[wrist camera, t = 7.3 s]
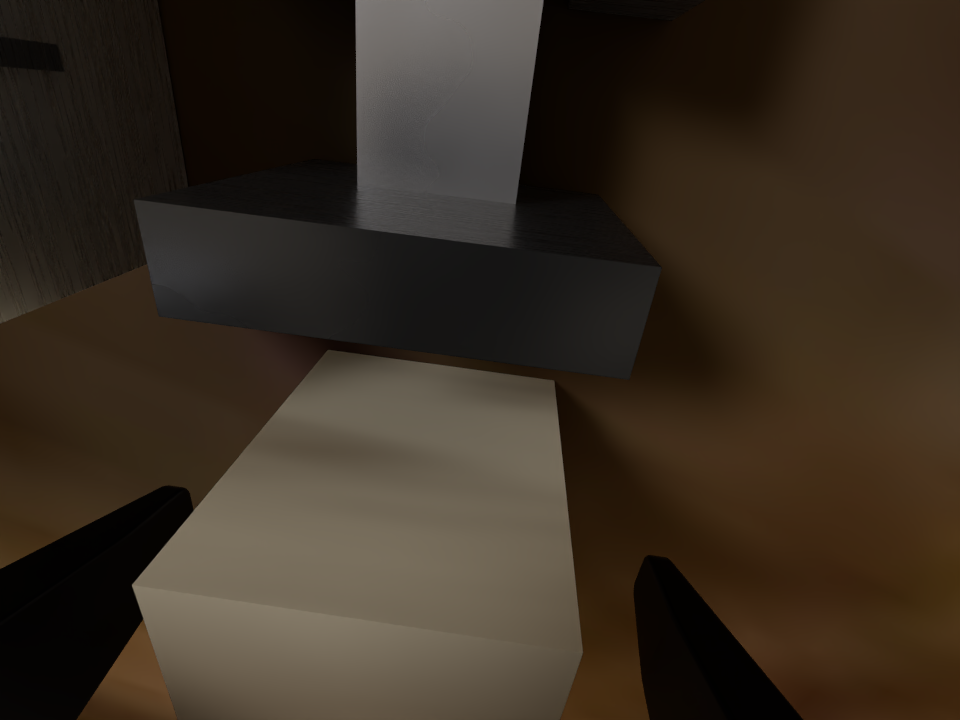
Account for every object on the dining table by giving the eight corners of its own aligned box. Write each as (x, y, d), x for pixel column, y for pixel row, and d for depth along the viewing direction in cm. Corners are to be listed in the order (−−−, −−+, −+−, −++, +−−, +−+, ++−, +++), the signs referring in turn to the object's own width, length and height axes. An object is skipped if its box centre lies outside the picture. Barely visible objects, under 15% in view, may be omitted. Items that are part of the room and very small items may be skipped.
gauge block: (520, 541, 13) (516, 845, 8) (335, 514, 13) (203, 794, 8) (554, 379, 11) (583, 652, 5) (328, 348, 11) (132, 585, 5)
